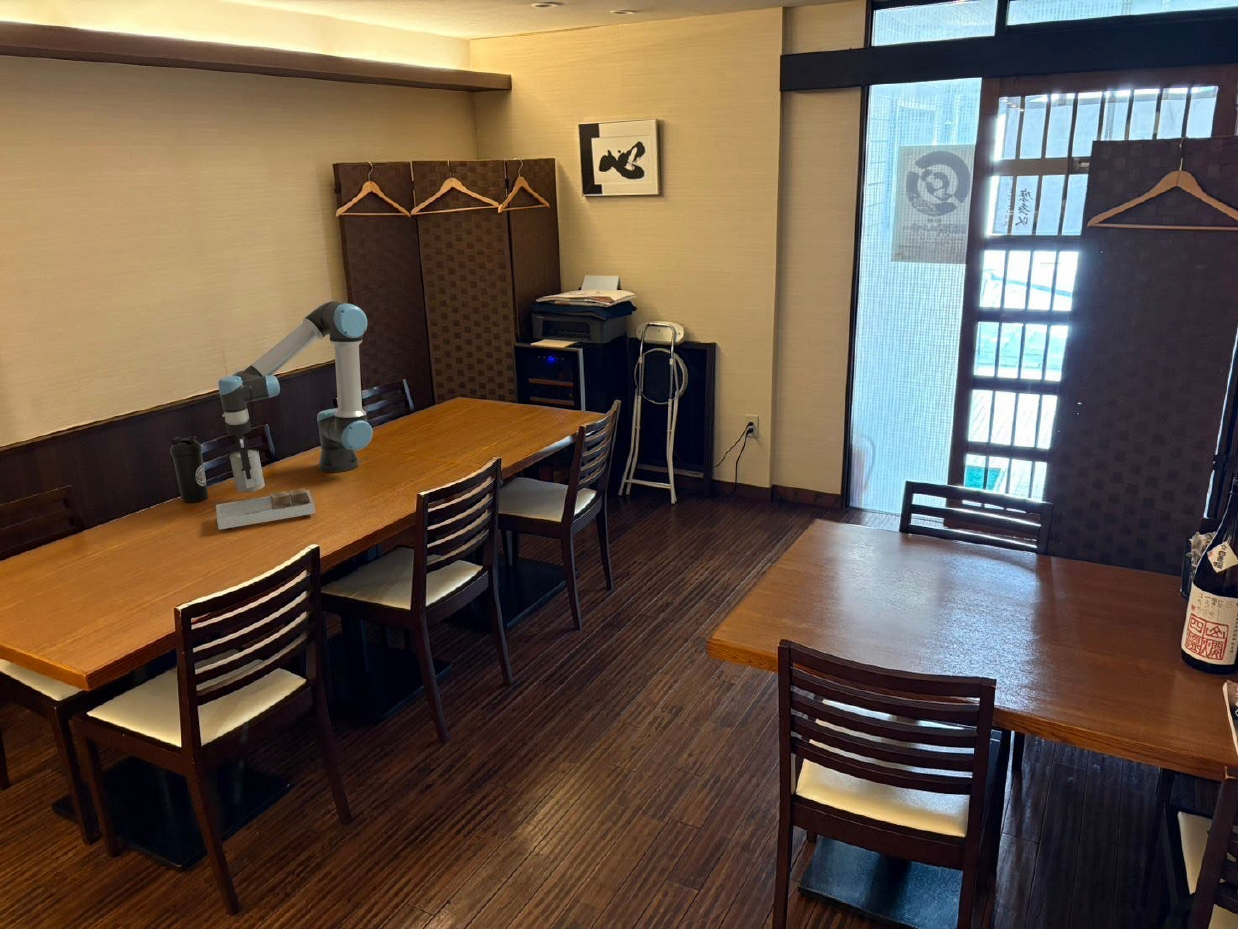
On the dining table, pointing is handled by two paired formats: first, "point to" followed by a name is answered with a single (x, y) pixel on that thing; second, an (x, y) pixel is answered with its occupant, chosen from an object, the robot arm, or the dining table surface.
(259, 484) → the grey cylinder
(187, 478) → the water bottle
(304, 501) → the walnut block
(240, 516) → the tray
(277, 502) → the walnut block
